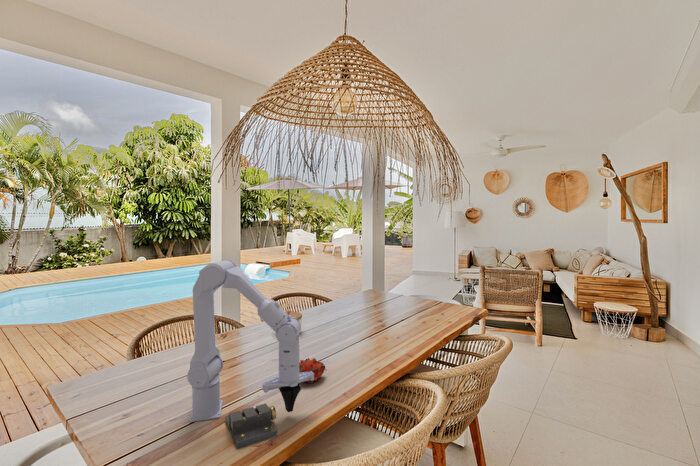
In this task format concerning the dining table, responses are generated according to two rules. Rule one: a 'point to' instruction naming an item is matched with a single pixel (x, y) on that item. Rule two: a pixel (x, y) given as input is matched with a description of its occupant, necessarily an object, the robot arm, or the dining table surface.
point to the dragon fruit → (312, 368)
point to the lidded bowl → (295, 315)
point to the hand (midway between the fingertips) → (289, 410)
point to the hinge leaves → (251, 425)
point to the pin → (273, 414)
